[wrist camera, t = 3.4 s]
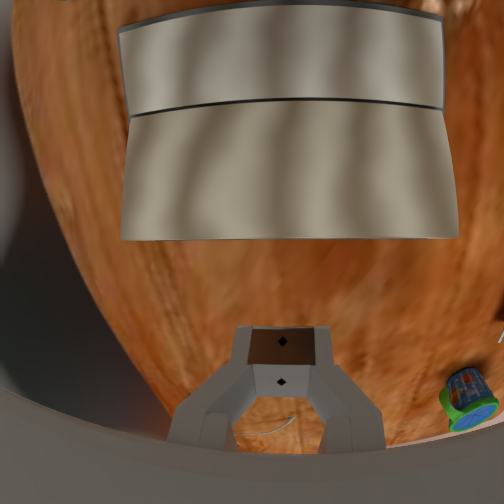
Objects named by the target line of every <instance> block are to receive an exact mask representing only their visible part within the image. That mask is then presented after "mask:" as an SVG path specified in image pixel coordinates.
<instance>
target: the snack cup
mask: <svg viewBox="0 0 504 504" xmlns="http://www.w3.org/2000/svg"><path fill="white" fill-rule="evenodd" d="M439 400H440V402H441V405H442V406H443V408H444V410H445V412H446V414H447V415H448V417H449V418H450V420H449V430H451V431H452V432H460V431H465V430H468V429H470V428H473V427H475V426H477V425H479V424H481V423H482V422H484V421H486V420H487V419H488V418H490V417H491V416H492V415H493V414H494V413H495V412H496V411H497V409H498V407H499V401H498V399H497V398H495V397H494V396H493V393H492V391H491V390H490V389H489V387H488V386H487V384H486V382H485V381H484V379H483V377H482V375H481V374H480V372H479V371H478V369H475V368H465V369H464V370H462V371H460V372H458V373H456V374H455V375H454V376H452V377H451V378H450V379H449V381H448V383H447V385H446V387H445V388H443V389H442V390H441V392H440V393H439Z"/></svg>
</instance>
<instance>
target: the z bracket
mask: <svg viewBox="0 0 504 504" xmlns="http://www.w3.org/2000/svg"><path fill="white" fill-rule="evenodd" d="M503 336H504V328H503V331H502V333H501V336H500V339H499V341H498V343H500V342H501V340H502V338H503Z"/></svg>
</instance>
